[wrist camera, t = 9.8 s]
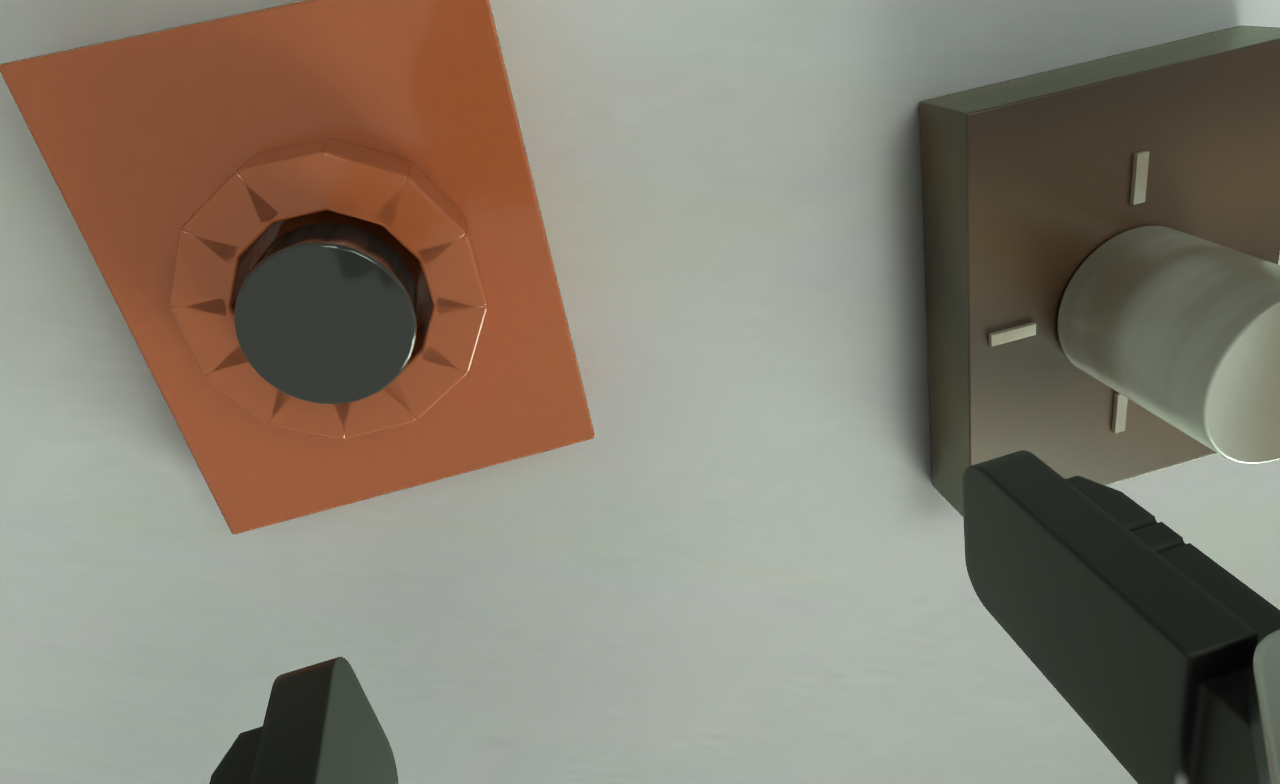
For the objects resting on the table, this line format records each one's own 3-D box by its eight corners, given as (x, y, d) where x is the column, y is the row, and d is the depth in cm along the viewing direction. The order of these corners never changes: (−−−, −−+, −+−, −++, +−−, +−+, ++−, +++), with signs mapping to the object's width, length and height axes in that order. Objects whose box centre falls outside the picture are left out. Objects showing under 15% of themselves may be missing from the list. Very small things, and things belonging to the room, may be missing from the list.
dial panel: (918, 101, 24) (970, 114, 22) (1240, 25, 25) (1323, 29, 23) (931, 485, 30) (973, 528, 28) (1191, 411, 31) (1252, 447, 29)
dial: (1052, 390, 26) (1202, 491, 21) (1060, 245, 24) (1228, 318, 19) (1189, 354, 26) (1369, 444, 21) (1209, 208, 24) (1413, 269, 19)
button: (223, 243, 18) (203, 267, 17) (390, 204, 19) (385, 224, 17) (285, 389, 20) (272, 424, 19) (437, 351, 20) (437, 381, 19)
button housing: (39, 56, 19) (-51, 73, 16) (476, -35, 20) (483, -38, 17) (248, 492, 25) (216, 578, 21) (584, 404, 26) (606, 471, 22)
